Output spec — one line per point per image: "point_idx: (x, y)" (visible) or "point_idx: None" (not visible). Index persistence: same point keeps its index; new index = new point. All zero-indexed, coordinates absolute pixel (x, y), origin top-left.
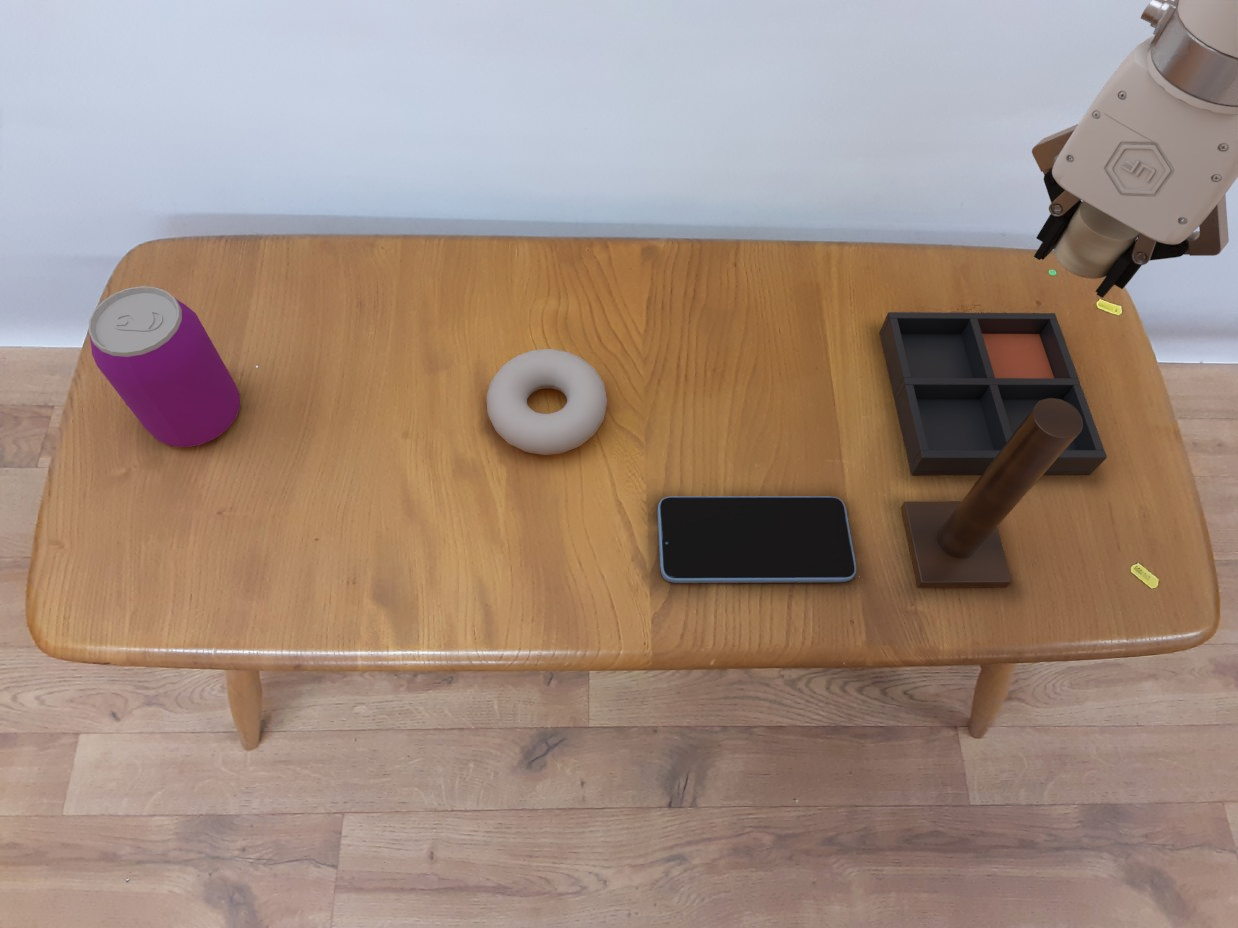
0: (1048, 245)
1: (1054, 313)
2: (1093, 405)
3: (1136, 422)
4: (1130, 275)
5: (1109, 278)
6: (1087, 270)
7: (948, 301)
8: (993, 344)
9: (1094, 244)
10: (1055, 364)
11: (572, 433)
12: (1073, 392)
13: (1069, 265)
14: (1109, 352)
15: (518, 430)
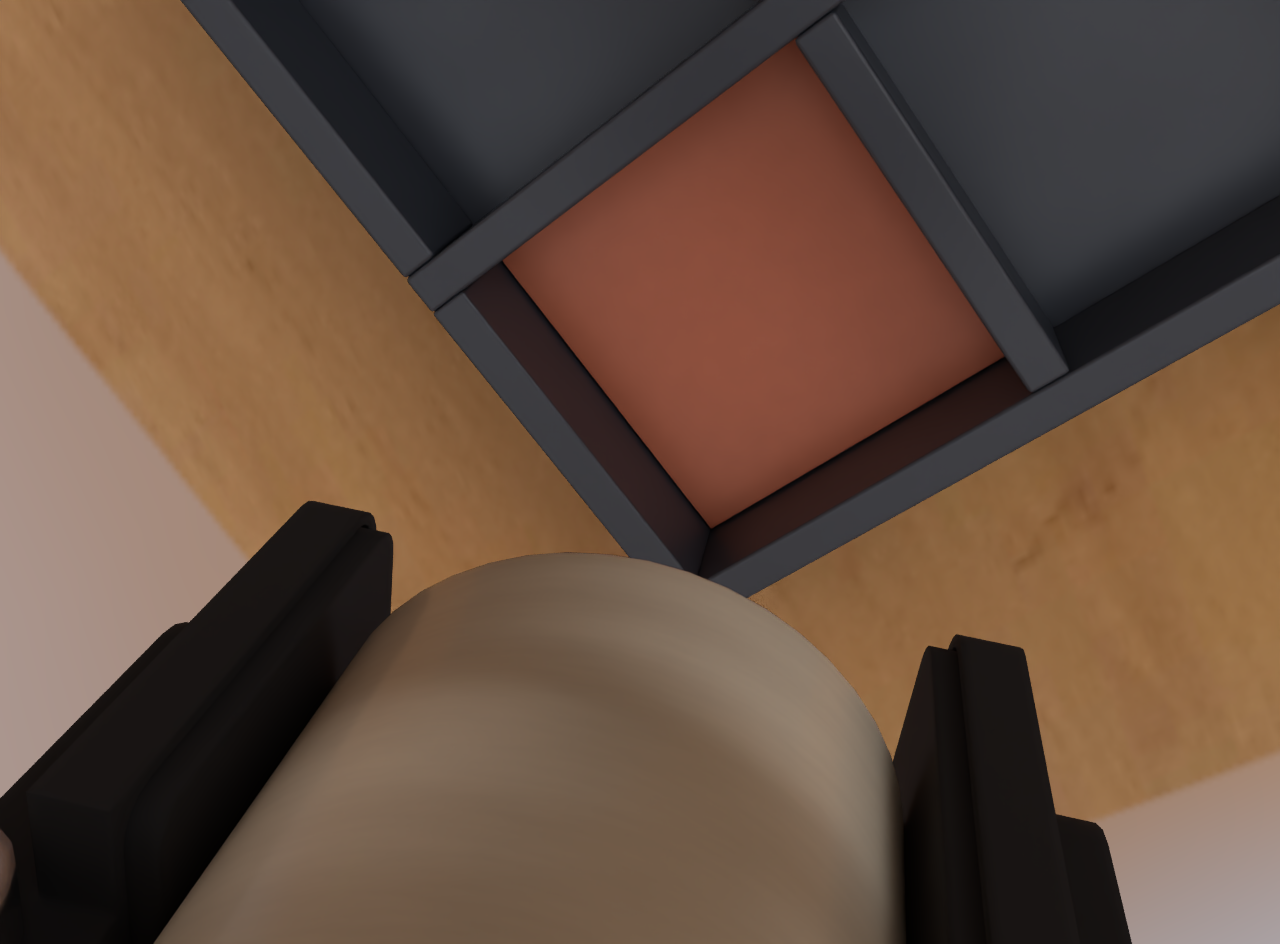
0: (969, 757)
1: None
2: (361, 303)
3: (189, 321)
4: (93, 721)
5: (263, 622)
6: (479, 611)
7: (1170, 512)
8: (879, 352)
9: (461, 856)
10: (573, 379)
11: None
12: (417, 222)
13: (672, 605)
14: None
15: None
